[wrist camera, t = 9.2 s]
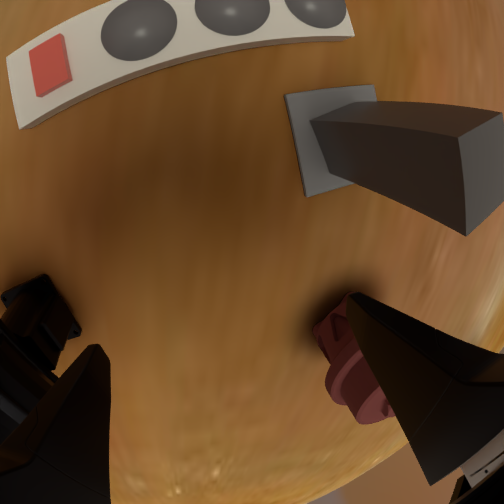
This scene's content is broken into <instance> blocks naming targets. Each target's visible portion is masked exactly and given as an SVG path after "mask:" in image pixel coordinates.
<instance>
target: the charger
mask: <svg viewBox="0 0 504 504" xmlns="http://www.w3.org/2000/svg"><path fill="white" fill-rule="evenodd" d="M309 121H310V123H311V126H312V128H313V131H314V133H315V136H316V138H317V141H318V143H319V146H320V148H321V151H322V154H323V156H324V159H325V162H326V164H327V167H328V170H329V173H330V174H333V175H335V176H338V177H340V178H343V179H345V180H348V181H350V182H353V183H355V184H358V185H360V186H363V187H365V188H367V189H370V190H372V191H374V192H377V193H379V194H381V195H384V196H386V197H388V198H390V199H392V200H395V201H397V202H399V203H401V204H403V205H405V206H408V207H410V208H412V209H414V210H416V211H418V212H420V213H422V214H424V215H426V216H428V217H430V218H432V219H434V220H436V221H438V222H440V223H442V224H444V225H446V226H447V227H449V228H451V229H453V230H455V231H457V232H459V233H460V234H462V235H464V236H467V235H468V234H470V233H471V232H472V231H473V230H474V229H475V228H476V227H477V226H478V225H479V224H481V223H482V222H483V221H484V220H485V219H486V218H487V217H488V216H489V215H490V214H491V213H492V212H493V211H494V210H495V209H496V208H497V207H498V206H499V205H500V204H501V203H502V202H503V201H504V122H503V115H502V113H501V112H495V111H490V110H484V109H478V108H471V107H463V106H455V105H445V104H434V103H420V102H395V101H362V102H353V103H351V104H348V105H345V106H343V107H340V108H338V109H335V110H333V111H330V112H328V113H326V114H323V115H321V116H318V117H316V118H314V119H311V120H309Z"/></svg>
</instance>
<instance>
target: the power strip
mask: <svg viewBox="0 0 504 504" xmlns="http://www.w3.org/2000/svg"><path fill="white" fill-rule="evenodd" d="M354 36H355V35H354V31H353V28H352V24H351V21H350V18H349V15H348V11H347V8H346V4H345V1H344V0H112V1H109V2H107V3H104V4H102V5H99V6H97V7H94V8H92V9H90V10H88V11H85V12H83V13H81V14H79V15H77V16H75V17H73V18H71V19H69V20H67V21H65V22H63V23H61V24H59V25H57V26H55V27H53V28H52V29H50V30H48V31H46V32H44V33H43V34H41V35H39V36H38V37H36V38H34V39H33V40H31V41H30V42H28V43H27V44H25V45H23V46H22V47H20V48H19V49H18V50H16V51H15V52H13V53H12V54H10V55H9V56H8V57H6V60H7V69H8V76H9V82H10V88H11V94H12V99H13V104H14V109H15V113H16V118H17V122H18V126H19V130H21V129H30V128H33V127H35V126H37V125H38V124H40V123H42V122H43V121H45V120H47V119H48V118H50V117H52V116H54V115H55V114H57V113H59V112H61V111H63V110H65V109H67V108H69V107H70V106H72V105H74V104H76V103H78V102H80V101H82V100H85V99H87V98H89V97H91V96H93V95H95V94H97V93H100V92H102V91H104V90H107V89H109V88H111V87H114V86H116V85H119V84H121V83H124V82H126V81H129V80H131V79H134V78H137V77H140V76H142V75H145V74H148V73H151V72H154V71H157V70H160V69H163V68H167V67H170V66H173V65H177V64H180V63H184V62H188V61H191V60H195V59H199V58H204V57H208V56H212V55H217V54H222V53H226V52H232V51H237V50H243V49H249V48H255V47H263V46H270V45H279V44H289V43H302V42H322V41H343V40H346V39H349V38H351V37H354Z"/></svg>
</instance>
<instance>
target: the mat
mask: <svg viewBox="0 0 504 504" xmlns="http://www.w3.org/2000/svg"><path fill="white" fill-rule="evenodd" d="M284 98H285V102H286V106H287V111H288V115H289V119H290V124H291V128H292V133H293V138H294V142H295V147H296V152H297V157H298V162H299V167H300V172H301V177H302V183H303V188H304V194H305V196H306V197H310V196H313V195H316V194H320V193H323V192H327V191H330V190H333V189H337V188H340V187H344V186H347V185H351V184H354V183H353V182H350V181H348V180H345V179H343V178H340V177H338V176H335V175H333V174H330V173H329V170H328V167H327V164H326V162H325V159H324V156H323V154H322V151H321V148H320V146H319V143H318V141H317V138H316V136H315V133H314V131H313V128H312V126H311V123H310V121H309V120H311V119H314V118H316V117H318V116H321V115H323V114H326V113H328V112H330V111H333V110H335V109H338V108H340V107H343V106H345V105H348V104H351V103H353V102H362V101H377V99H376V94H375V88H374V85H361V86H348V87H338V88H328V89H320V90H312V91H305V92H299V93H292V94H286V95H284Z"/></svg>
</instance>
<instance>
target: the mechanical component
mask: <svg viewBox="0 0 504 504" xmlns="http://www.w3.org/2000/svg"><path fill="white" fill-rule="evenodd" d="M351 293H354V292H349V293H347V294H346V295H345V297H344V298H343V300H342V302H341V303H340V304H339V306H338V307H336V308H335V309H334V310H333V311H331V312H330V313H329V314H328V316H327V317H326V318H325V319H324V320H323V321H321V322H319V323H318V324H316V325H315V326H314V328H313V330H312V332H313V334H314V336H315V337H316V339H317V343H318V346H319V347H320V349H321V350H322V352H323V353H324V355H325V357H326V358H327V360H328V361H329V363H330V364H331V366H330V368H329V370H328V372H327V375H326V379H325V387H326V389H327V391H328V393H329V395H330V396H331V398H332V400H333V401H334V402H335V403H337V404H340V405H347V406H348V407H349V409H350V411H351V412H352V414H353V416H354V417H355V419H356V421H357V422H358V423H359V424H372V423H376V422H379V421H381V420H384V419H386V418H388V417H394V416H395V414H394V412H393V410H392V408H391V406H390V404H389V402H388V400H387V398H386V397H385V395H384V393H383V391H382V389H381V387H380V385H379V384H378V382H377V380H376V378H375V376H374V374H373V373H372V371H371V369H370V367H369V365H368V363H367V362H366V360H365V358H364V356H363V354H362V352H361V350H360V348H359V346H358V343H357V341H356V339H355V336H354V334H353V332H352V329H351V327H350V324H349V322H348V320H347V317H346V302H347V296H348V295H349V294H351Z"/></svg>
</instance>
